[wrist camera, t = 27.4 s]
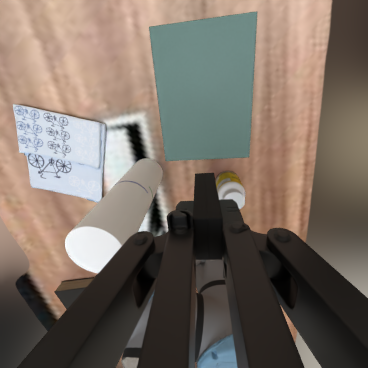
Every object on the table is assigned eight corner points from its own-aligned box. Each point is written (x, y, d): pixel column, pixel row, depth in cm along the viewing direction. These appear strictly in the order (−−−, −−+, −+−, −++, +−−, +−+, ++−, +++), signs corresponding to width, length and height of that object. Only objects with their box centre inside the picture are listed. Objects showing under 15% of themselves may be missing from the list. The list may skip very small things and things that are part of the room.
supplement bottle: (243, 185, 45) (253, 207, 36) (221, 195, 47) (227, 219, 38) (232, 165, 43) (241, 184, 34) (210, 177, 45) (213, 197, 36)
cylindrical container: (148, 152, 43) (90, 215, 21) (169, 175, 45) (137, 257, 23) (126, 170, 46) (53, 245, 23) (147, 192, 48) (98, 281, 25)
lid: (256, 13, 27) (257, 11, 26) (248, 156, 35) (249, 157, 34) (150, 28, 29) (148, 26, 28) (166, 160, 37) (165, 161, 36)
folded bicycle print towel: (107, 122, 41) (102, 123, 40) (103, 202, 50) (99, 207, 48) (18, 101, 41) (8, 101, 39) (29, 186, 49) (22, 190, 48)
